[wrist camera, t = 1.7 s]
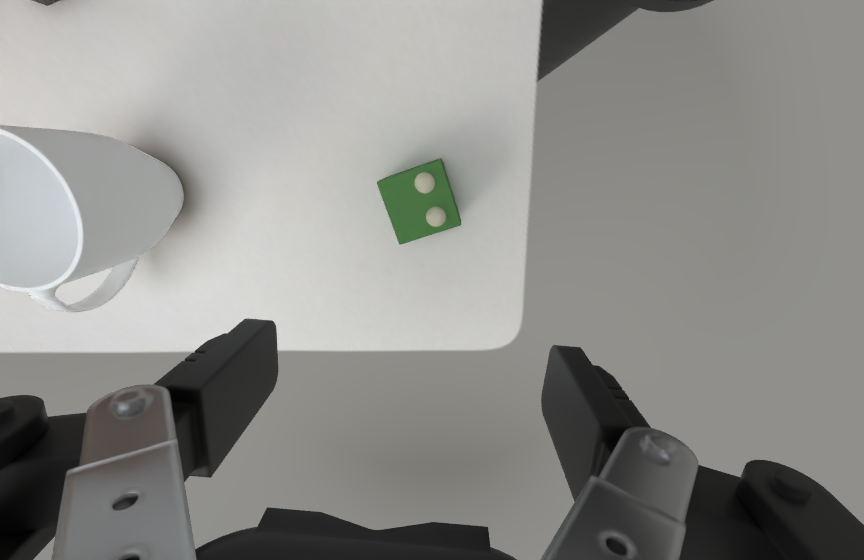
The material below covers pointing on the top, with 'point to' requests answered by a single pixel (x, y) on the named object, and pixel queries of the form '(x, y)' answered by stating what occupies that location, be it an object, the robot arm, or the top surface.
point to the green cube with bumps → (420, 201)
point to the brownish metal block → (45, 1)
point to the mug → (78, 211)
